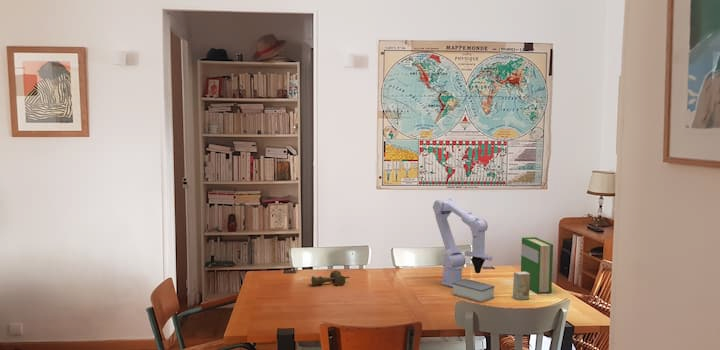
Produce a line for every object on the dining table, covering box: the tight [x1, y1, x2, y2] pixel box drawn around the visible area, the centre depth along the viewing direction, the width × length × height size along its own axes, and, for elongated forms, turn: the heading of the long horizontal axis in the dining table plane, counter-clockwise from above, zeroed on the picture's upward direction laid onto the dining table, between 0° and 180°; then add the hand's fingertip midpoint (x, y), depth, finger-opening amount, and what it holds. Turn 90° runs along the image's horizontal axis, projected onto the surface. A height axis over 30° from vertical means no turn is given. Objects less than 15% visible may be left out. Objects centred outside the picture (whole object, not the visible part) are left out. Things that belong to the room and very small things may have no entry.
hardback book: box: [520, 236, 554, 295], centre depth 267 cm, size 18×7×24 cm, turn 9°
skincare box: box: [512, 271, 530, 301], centre depth 252 cm, size 6×4×12 cm
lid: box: [452, 278, 495, 292], centre depth 255 cm, size 17×10×1 cm, turn 43°
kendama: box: [311, 270, 350, 287], centre depth 274 cm, size 6×10×20 cm
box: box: [452, 285, 495, 303], centre depth 255 cm, size 16×10×5 cm, turn 43°
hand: (477, 272), depth 259 cm, fingers closed
